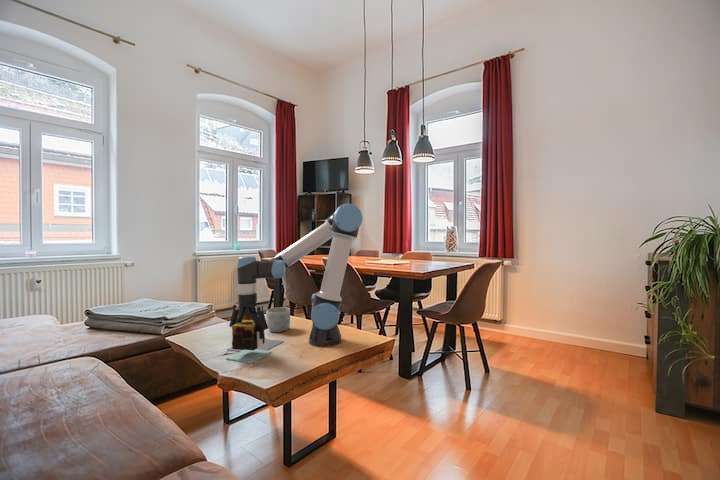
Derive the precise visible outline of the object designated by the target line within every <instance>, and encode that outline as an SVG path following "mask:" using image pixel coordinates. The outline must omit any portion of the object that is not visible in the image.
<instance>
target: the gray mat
mask: <svg viewBox="0 0 720 480" xmlns="http://www.w3.org/2000/svg"><path fill="white" fill-rule="evenodd" d="M284 342H285V341H284V340H277V339H267V338H265V340H264V344H263V346H261V347H258V348H257V349H258V350H266V351H270V350H271V349H272V348H274V347H277V346H279V345H280V344H282V343H284ZM226 351H232V352H237V353H238V352H240V351H242V350H235V349H233V348H232V346H231V347H229V348H227V349H226Z"/></svg>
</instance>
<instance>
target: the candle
mask: <svg viewBox="0 0 720 480" xmlns="http://www.w3.org/2000/svg"><path fill="white" fill-rule="evenodd" d="M231 329H232V331H231V332H232V333H231V335H232V340H231V347H232V348H233V349H235V350H255V349H257V348H258V347H257V331H258V329H257V327H256V325H255V323H254V321H253V320H243V321H242V322H239V323H237V324H235V325H232V327H231ZM265 335H266V334H265V333H264V338H263V344H264V340H265V339H266V337H265Z"/></svg>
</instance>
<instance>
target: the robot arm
mask: <svg viewBox="0 0 720 480" xmlns="http://www.w3.org/2000/svg"><path fill="white" fill-rule="evenodd" d="M324 221H325V222H324V223H323V224H320V225H319V226H318V227H316V228H315V229H314V230H311V231H310V232H309V233H308V234H306V235H304V236H303V237H302V238H300V239H298V240H297V241H296V242H294V243H293V244H291V245H290V246H288V247H287V248H286V249H283V251H282V250H281V252H279V253H278V254H277V255H275V256H274V257H272V258H270V259H269V260H257V258H256V256H253V255H249V256H247V255H246V256H245V255H244V256H239V257H238V258H237V267H236V269H237V293H238V294H237V298H238V299H237V302H239V304H236V303H235V304H233V305H232V312H231V313H232V314H231V317H230V321H229V327H230V328H232V325H235V324H237V323H239V322H242V320H243V318H244V316H245V315H248V316H250V317H251V318H252V319H253V321H254V323H255V325H256V327H257V329H258V331H257V347H261V346H263V338H264V334H265V330H269V329H268V326H267V318H266V316H265V313H264V306H263V305H260V306H259V305H257V302H258V293H257V292H258V291H257V288H258V285H257V279H258V280H259V279H260V280H261V279H276V280H277V279H281V278H285V275H286V270H287V269H288V268H289V267H291V266H292V265H293V264H295V263H297V262H298V261H300V260H301V259H302V258H304V257H306V256H307V255H309V254H310V253H311V252H313V251H315V250H316V249H317V248H319V247H321V246H322V245H323V244H325V243H326V242H328V241H329V240H331V243H330V249H329V253H328V256H327V260H326V264H325V270H324V272H323V273H324V274H323V276H322V277H323V278H322V281H321V285H320V290H319V291H317V292H316V293H313V294H312V295H311V310H310V311H311V313H310V321H311V322H312V327H311V330H310V334H309V337H308V338H309V339H308V340H309V345H311V346H314V347H319V348H320V347H333V346H336V345H339V344H341V342H342V341H343V340H342V339H343V338H342V334H341V331H340V329H339V326H338V322H339V320H340V310H341V306H342V301H343V298H342V297H341V290H342V286H343V282H344V277H345V274H346V270H347V264H348V261H349V258H350V252H351V248H352V244H353V242H354V240H356V239H357V238H358V235H359V234H358V233H359V229H360V227H361V226H362V225H361V224H362V223H363V214H362V211H361V209H360V208H359V207H358V206H357V205H355V204H352V203H343V204H340V205H339V206H338V207H337V208H336V210H335V211H334V212H333V213H332V214H331V215H330V216H329V217H327V218H326V219H325V220H324ZM239 309H240V312H239ZM238 313H239V314H238ZM238 315H239V316H238Z"/></svg>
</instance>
